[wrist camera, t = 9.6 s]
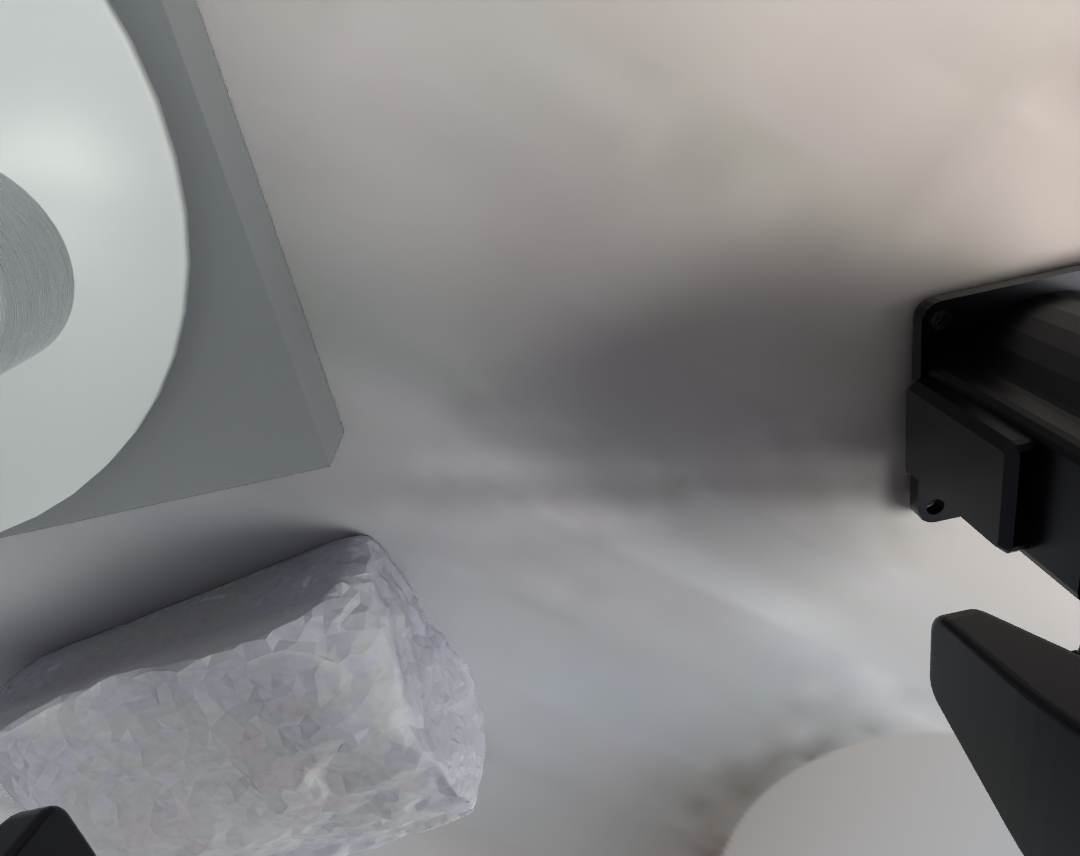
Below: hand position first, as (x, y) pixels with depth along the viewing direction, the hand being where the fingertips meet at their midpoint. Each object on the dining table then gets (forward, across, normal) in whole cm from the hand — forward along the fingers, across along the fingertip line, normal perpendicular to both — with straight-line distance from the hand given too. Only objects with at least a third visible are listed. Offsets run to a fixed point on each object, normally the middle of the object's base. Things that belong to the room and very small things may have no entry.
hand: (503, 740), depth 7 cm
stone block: (+12, +9, +10) cm, 18 cm away
